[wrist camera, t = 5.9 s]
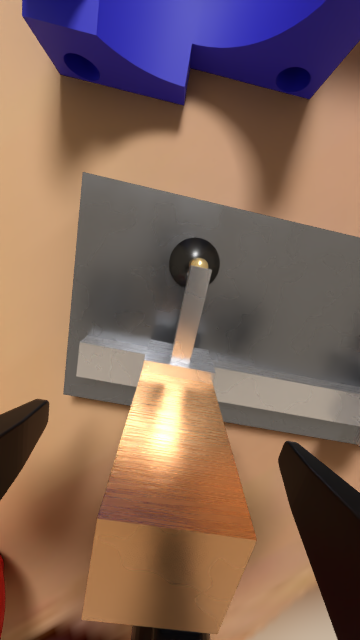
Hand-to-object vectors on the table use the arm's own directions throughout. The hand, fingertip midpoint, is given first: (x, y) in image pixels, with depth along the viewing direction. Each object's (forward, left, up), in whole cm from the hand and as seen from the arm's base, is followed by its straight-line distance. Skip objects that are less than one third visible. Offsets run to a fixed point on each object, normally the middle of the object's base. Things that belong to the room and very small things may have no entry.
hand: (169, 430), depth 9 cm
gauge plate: (+3, -5, -6) cm, 9 cm away
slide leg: (+2, 0, -5) cm, 5 cm away
